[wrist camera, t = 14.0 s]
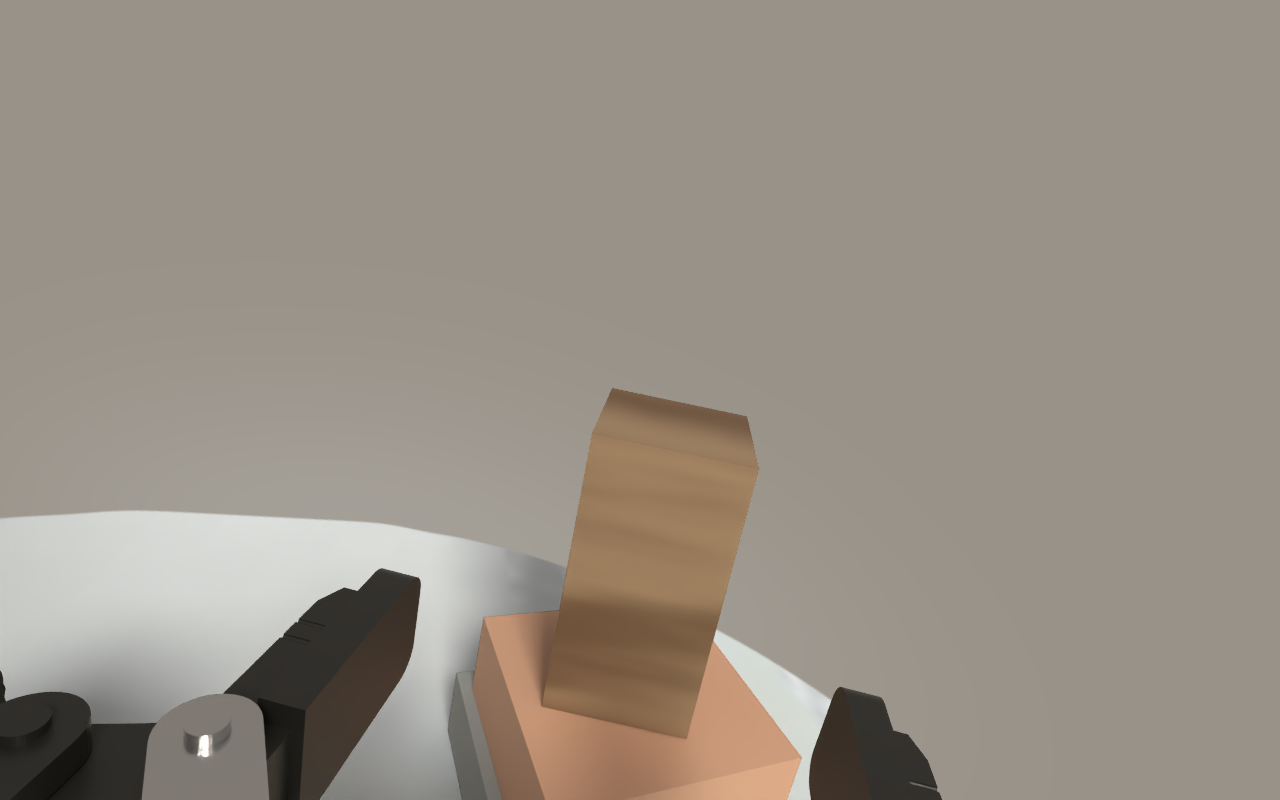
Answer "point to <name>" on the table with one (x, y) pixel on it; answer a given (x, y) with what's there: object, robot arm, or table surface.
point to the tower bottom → (470, 744)
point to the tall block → (650, 561)
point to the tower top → (619, 733)
